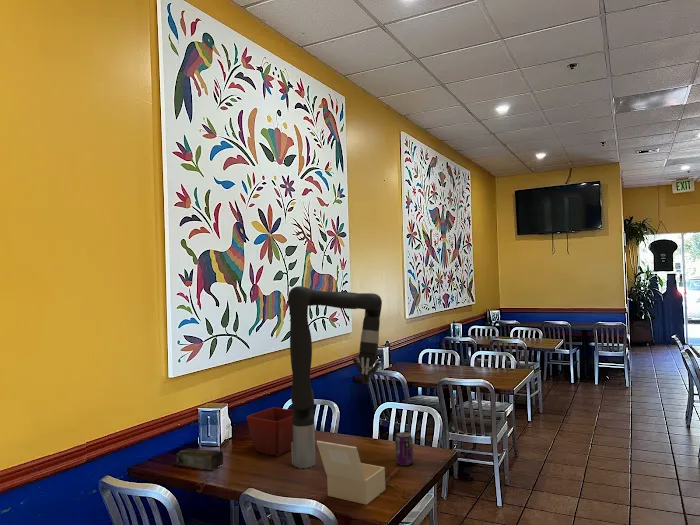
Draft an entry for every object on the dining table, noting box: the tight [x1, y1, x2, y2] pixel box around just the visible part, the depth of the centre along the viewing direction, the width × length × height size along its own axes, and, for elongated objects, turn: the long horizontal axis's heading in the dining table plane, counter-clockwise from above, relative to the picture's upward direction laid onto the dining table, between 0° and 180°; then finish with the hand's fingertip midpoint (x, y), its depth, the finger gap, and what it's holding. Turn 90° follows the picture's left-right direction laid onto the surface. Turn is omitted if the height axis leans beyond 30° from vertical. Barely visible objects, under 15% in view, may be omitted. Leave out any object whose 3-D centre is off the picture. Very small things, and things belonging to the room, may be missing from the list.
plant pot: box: [246, 406, 293, 456], centre depth 232 cm, size 19×19×17 cm
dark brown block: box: [176, 447, 224, 471], centre depth 215 cm, size 8×19×7 cm, turn 68°
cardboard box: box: [326, 462, 386, 505], centre depth 182 cm, size 16×14×8 cm
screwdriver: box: [385, 467, 401, 484], centre depth 194 cm, size 16×1×2 cm, turn 153°
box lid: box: [316, 440, 366, 482], centre depth 174 cm, size 16×14×1 cm
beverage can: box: [394, 431, 414, 467], centre depth 210 cm, size 7×7×12 cm
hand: (365, 383), depth 207 cm, fingers closed
